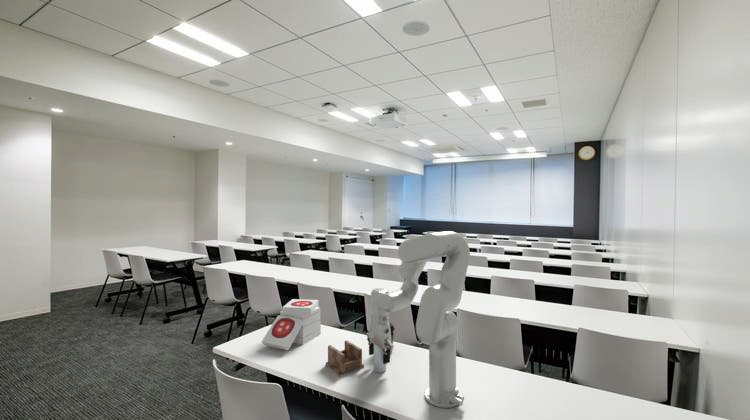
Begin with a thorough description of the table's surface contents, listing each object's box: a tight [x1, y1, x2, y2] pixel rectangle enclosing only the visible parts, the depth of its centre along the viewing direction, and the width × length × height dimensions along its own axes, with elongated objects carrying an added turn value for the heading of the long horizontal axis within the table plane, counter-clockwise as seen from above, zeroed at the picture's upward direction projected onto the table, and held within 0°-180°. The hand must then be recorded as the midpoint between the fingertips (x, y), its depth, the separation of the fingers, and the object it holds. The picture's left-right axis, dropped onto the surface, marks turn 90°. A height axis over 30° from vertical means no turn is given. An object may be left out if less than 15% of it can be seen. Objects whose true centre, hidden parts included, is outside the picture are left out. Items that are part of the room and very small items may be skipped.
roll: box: [373, 344, 387, 374], centre depth 138 cm, size 5×5×11 cm
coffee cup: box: [386, 322, 396, 351], centre depth 156 cm, size 9×8×13 cm
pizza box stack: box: [261, 298, 322, 351], centre depth 169 cm, size 19×30×18 cm, turn 154°
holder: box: [325, 340, 365, 377], centre depth 142 cm, size 12×12×8 cm
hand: (379, 358), depth 139 cm, fingers open, 9 cm apart
